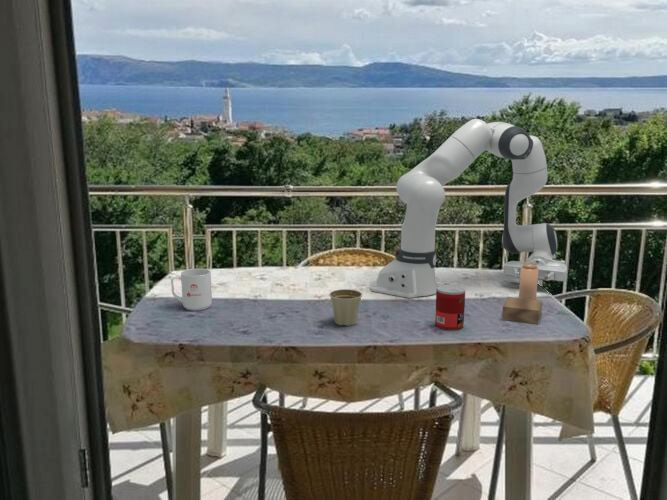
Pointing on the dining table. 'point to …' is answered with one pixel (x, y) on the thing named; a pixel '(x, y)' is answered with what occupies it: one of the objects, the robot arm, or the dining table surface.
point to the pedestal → (522, 310)
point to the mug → (195, 289)
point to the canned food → (450, 307)
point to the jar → (528, 281)
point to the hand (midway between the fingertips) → (531, 276)
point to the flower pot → (345, 306)
